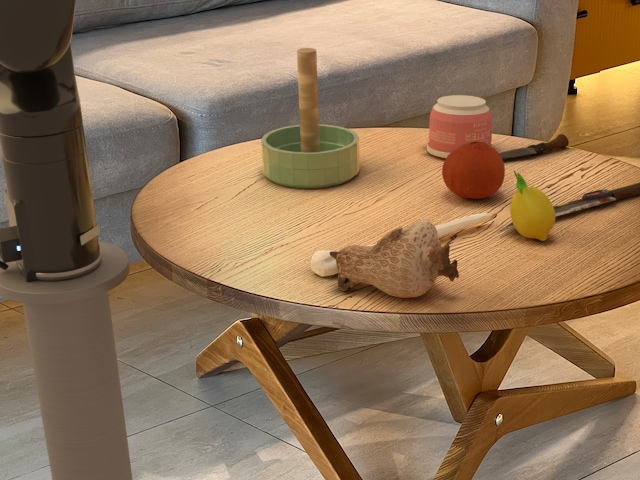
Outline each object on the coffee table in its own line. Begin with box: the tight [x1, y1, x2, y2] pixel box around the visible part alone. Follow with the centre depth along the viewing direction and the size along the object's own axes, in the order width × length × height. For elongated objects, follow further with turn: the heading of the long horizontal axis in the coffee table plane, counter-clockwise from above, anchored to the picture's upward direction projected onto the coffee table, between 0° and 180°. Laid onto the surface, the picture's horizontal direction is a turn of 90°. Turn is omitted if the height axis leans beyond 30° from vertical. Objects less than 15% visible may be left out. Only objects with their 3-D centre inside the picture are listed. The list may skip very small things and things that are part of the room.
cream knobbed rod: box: [310, 212, 492, 278], centre depth 139 cm, size 28×4×3 cm, turn 129°
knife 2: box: [496, 182, 640, 234], centre depth 150 cm, size 3×2×30 cm
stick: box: [296, 47, 320, 152], centre depth 161 cm, size 4×4×18 cm
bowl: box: [260, 123, 361, 189], centre depth 164 cm, size 14×14×6 cm
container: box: [426, 94, 494, 159], centre depth 172 cm, size 10×10×8 cm
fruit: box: [441, 141, 506, 200], centre depth 154 cm, size 9×9×8 cm
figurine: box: [330, 219, 460, 299], centre depth 127 cm, size 9×10×15 cm
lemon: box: [509, 170, 556, 242], centre depth 141 cm, size 7×6×10 cm
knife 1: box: [498, 133, 570, 160], centre depth 172 cm, size 17×2×5 cm
